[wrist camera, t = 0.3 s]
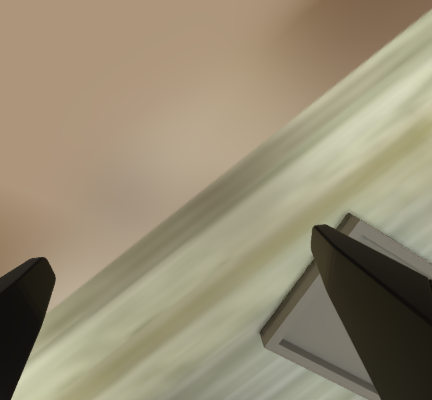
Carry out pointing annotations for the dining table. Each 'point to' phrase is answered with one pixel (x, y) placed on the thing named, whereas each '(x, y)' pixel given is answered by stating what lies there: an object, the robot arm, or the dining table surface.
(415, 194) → the dining table surface
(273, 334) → the tray
